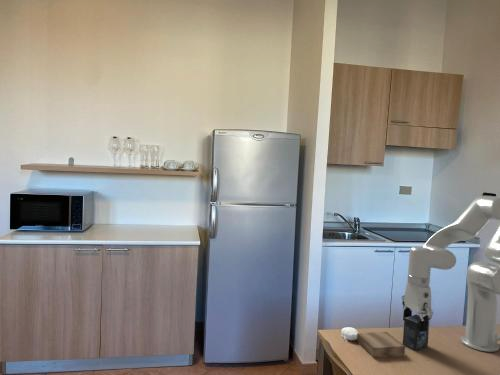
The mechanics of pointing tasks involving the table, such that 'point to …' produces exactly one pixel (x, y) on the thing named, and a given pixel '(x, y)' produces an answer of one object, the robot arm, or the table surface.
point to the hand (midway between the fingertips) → (414, 325)
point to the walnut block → (380, 344)
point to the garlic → (349, 333)
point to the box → (414, 333)
